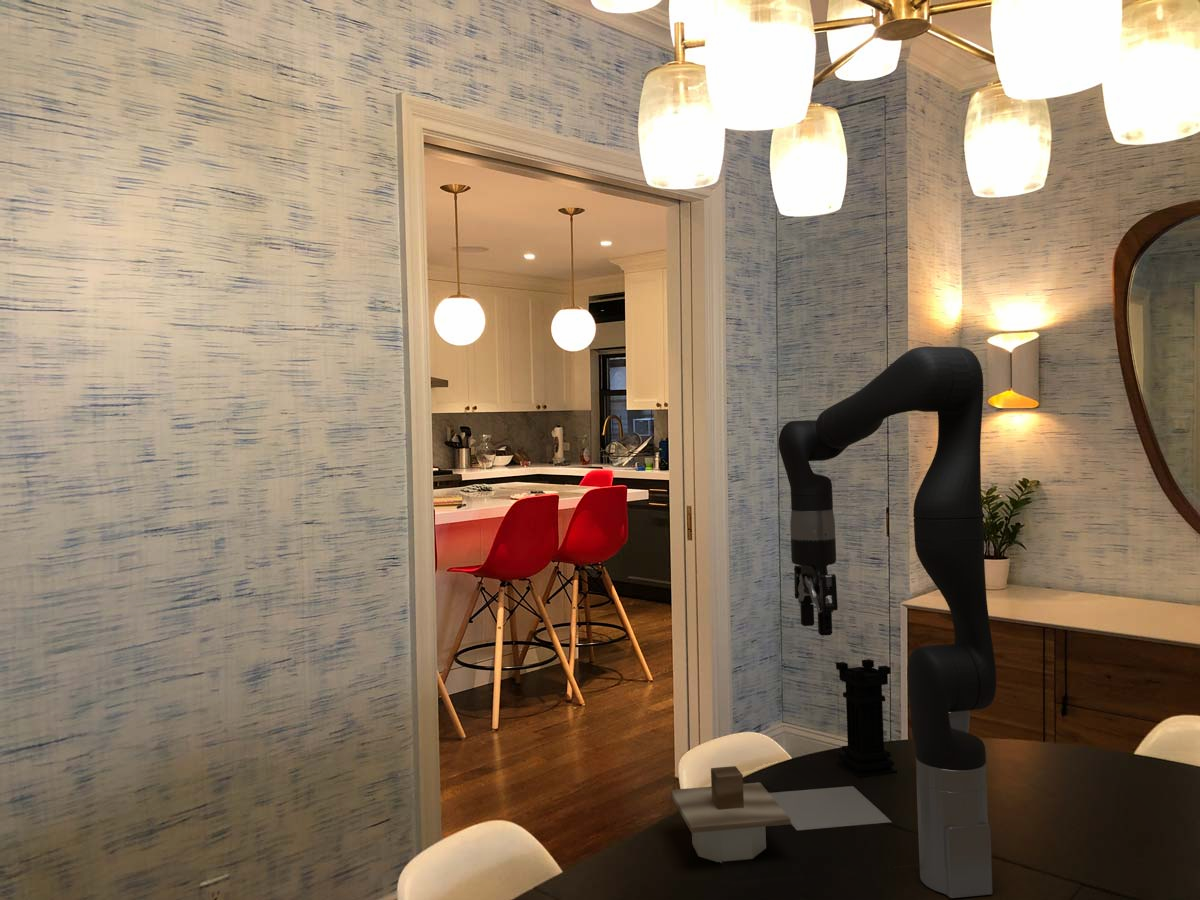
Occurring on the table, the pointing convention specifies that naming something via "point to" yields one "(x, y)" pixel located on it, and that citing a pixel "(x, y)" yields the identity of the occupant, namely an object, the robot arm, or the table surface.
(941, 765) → the robot arm
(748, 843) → the bowl
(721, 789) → the lid
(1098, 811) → the table surface
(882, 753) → the chess piece
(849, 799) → the mat
